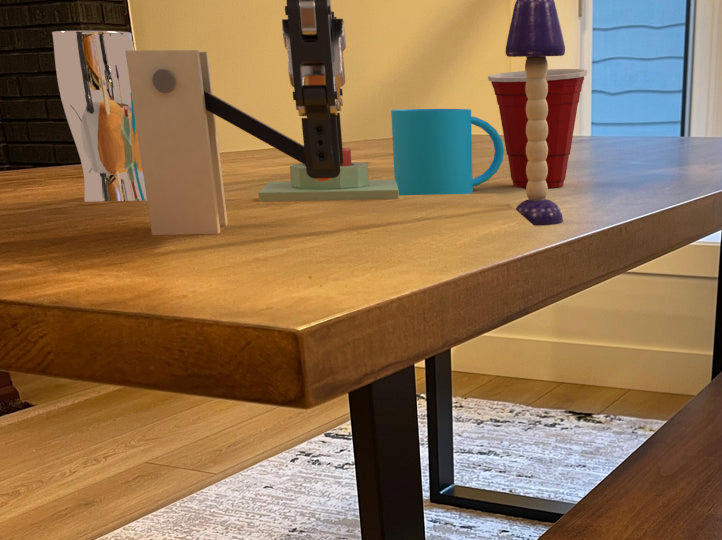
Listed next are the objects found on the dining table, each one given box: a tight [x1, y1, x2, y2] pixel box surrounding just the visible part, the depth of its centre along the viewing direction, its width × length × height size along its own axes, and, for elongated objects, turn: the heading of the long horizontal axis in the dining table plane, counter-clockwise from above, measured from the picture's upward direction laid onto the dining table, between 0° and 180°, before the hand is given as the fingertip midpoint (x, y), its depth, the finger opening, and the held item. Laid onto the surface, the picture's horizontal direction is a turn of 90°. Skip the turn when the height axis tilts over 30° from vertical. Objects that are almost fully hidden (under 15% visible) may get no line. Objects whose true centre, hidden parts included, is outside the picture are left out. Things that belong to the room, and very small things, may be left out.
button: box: [341, 147, 352, 166], centre depth 90 cm, size 4×4×2 cm
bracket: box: [125, 49, 229, 236], centre depth 68 cm, size 11×9×13 cm
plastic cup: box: [487, 68, 588, 189], centre depth 109 cm, size 11×11×12 cm
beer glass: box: [51, 30, 147, 203], centre depth 91 cm, size 7×7×15 cm
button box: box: [257, 161, 400, 203], centre depth 91 cm, size 12×10×4 cm
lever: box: [203, 89, 330, 181], centre depth 68 cm, size 13×6×2 cm
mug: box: [390, 108, 505, 196], centre depth 104 cm, size 12×8×8 cm
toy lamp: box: [505, 0, 566, 226], centre depth 80 cm, size 5×5×17 cm
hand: (326, 172), depth 70 cm, fingers open, 8 cm apart
